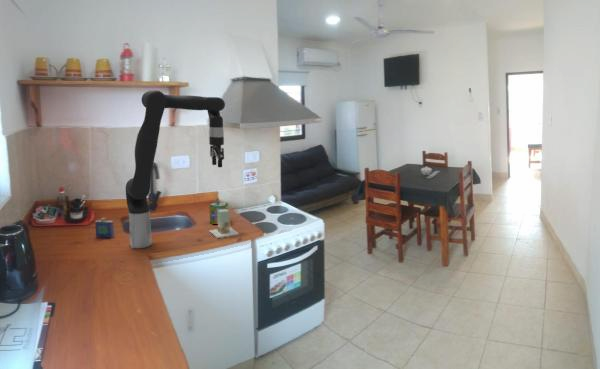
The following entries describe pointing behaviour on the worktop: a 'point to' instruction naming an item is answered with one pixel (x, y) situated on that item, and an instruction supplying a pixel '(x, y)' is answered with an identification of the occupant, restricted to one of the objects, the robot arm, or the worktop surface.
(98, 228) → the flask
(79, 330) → the worktop surface
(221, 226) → the maple block
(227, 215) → the sage block
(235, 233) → the tile
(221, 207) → the chalk box
